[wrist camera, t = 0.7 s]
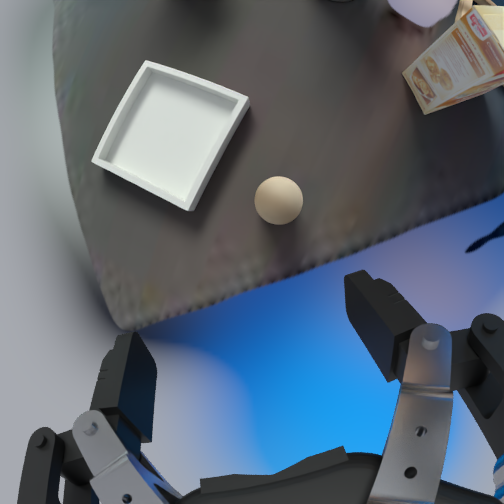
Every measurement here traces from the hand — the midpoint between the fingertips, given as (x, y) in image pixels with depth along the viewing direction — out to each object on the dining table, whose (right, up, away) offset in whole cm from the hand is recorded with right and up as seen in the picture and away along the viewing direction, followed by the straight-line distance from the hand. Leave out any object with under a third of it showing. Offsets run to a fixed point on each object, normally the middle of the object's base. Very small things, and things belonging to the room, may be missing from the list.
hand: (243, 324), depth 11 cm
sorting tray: (-10, +18, +25) cm, 32 cm away
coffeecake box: (+29, +27, +21) cm, 45 cm away
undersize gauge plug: (+3, +9, +25) cm, 27 cm away
